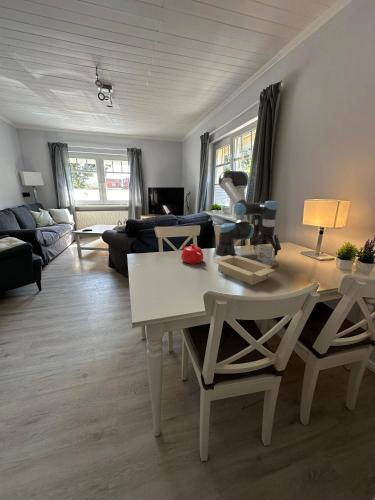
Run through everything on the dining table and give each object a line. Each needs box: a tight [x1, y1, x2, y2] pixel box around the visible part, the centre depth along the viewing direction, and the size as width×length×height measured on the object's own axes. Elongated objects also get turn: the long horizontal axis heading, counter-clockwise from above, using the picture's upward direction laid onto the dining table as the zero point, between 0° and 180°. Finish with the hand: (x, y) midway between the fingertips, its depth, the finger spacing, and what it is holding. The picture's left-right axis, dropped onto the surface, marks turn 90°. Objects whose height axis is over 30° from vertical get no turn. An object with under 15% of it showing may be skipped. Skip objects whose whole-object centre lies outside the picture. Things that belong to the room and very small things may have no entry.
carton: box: [213, 255, 275, 286], centre depth 126 cm, size 33×22×7 cm, turn 39°
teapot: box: [180, 243, 204, 265], centre depth 146 cm, size 25×16×12 cm, turn 31°
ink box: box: [256, 244, 274, 265], centre depth 141 cm, size 9×5×12 cm, turn 62°
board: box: [253, 259, 279, 269], centre depth 144 cm, size 14×14×1 cm
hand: (264, 257), depth 142 cm, fingers open, 13 cm apart
